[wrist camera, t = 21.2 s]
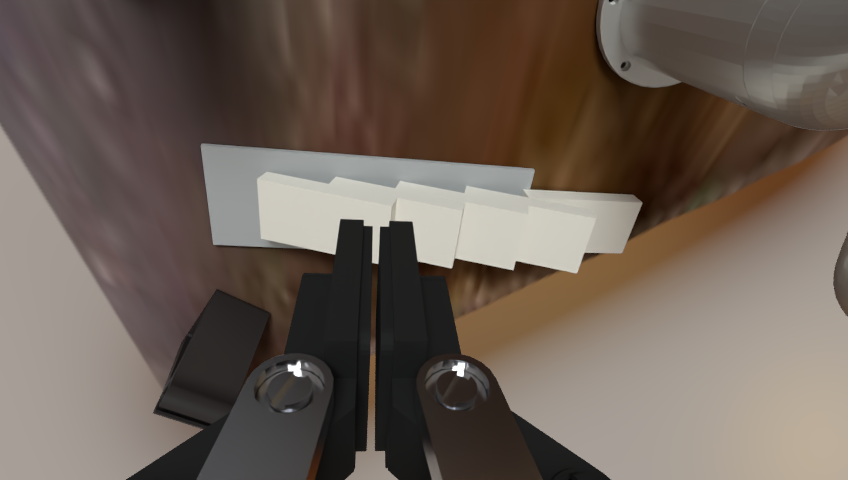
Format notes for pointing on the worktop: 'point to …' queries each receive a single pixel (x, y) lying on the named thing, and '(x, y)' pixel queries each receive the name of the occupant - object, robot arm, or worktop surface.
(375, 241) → the domino
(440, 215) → the domino
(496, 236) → the domino
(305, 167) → the mat
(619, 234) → the domino
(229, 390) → the phone stand
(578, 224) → the domino
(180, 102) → the worktop surface
